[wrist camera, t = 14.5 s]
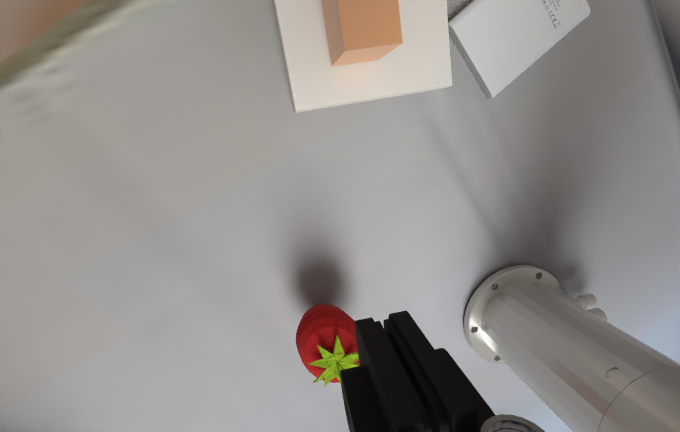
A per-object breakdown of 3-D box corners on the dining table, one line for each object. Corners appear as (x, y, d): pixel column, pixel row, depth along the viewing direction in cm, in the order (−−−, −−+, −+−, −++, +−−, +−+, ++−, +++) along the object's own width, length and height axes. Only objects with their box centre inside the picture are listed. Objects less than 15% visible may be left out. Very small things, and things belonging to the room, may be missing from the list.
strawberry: (330, 271, 34) (351, 325, 25) (362, 325, 37) (393, 393, 27) (280, 300, 34) (282, 365, 25) (316, 352, 36) (330, 431, 27)
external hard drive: (440, 27, 31) (543, -62, 31) (483, 100, 34) (579, 18, 33) (449, 22, 30) (557, -72, 29) (493, 98, 32) (594, 12, 32)
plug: (362, 3, 29) (394, -44, 21) (370, 65, 30) (402, 43, 22) (317, 8, 28) (332, -38, 20) (327, 71, 29) (345, 51, 22)
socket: (428, -45, 29) (442, -61, 26) (438, 89, 32) (452, 85, 29) (267, -28, 27) (266, -43, 25) (294, 112, 30) (295, 111, 28)
